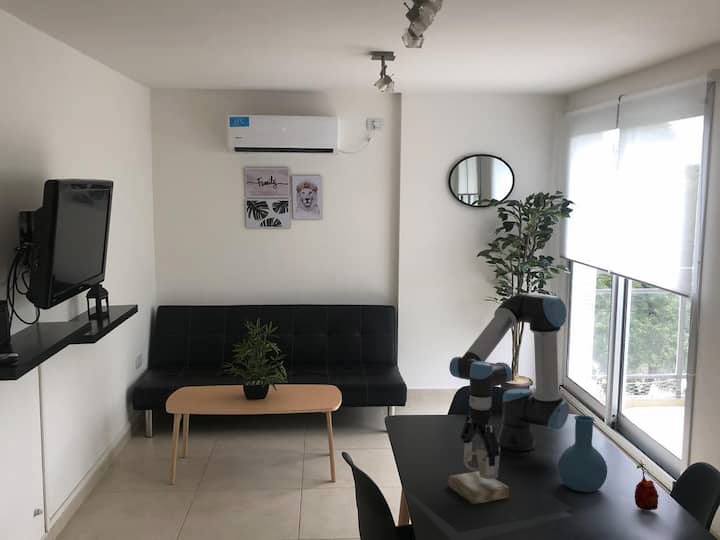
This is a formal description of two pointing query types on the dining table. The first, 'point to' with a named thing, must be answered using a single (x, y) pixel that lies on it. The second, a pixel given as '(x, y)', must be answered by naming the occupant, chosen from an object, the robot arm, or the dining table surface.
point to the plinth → (478, 487)
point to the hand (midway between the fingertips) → (478, 467)
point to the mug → (482, 461)
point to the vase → (582, 460)
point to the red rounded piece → (646, 494)
